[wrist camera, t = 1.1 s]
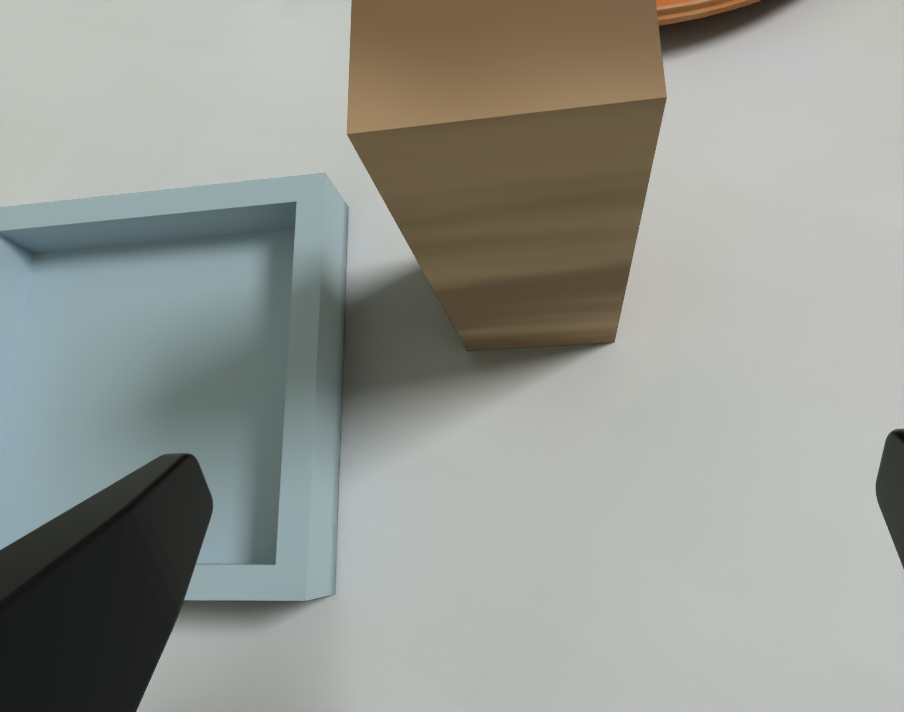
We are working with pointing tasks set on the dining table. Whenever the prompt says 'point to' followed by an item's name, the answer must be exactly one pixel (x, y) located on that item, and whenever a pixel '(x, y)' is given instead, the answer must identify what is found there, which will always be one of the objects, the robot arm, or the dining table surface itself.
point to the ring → (694, 9)
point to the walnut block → (512, 153)
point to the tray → (183, 366)
